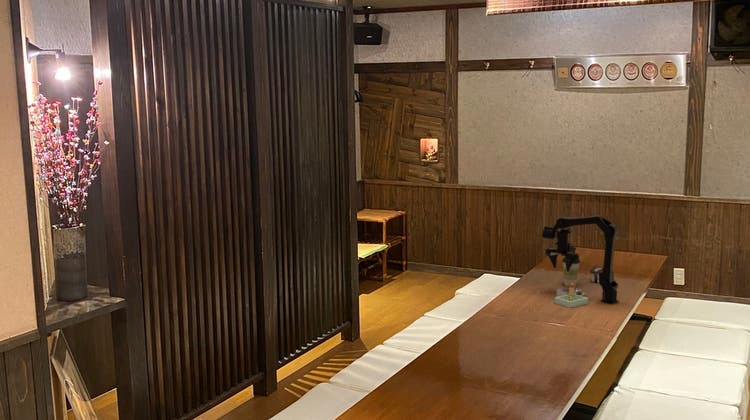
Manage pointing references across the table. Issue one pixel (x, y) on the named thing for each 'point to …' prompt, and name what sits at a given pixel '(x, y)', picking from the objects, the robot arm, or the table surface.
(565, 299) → the tray
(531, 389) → the table surface
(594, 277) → the architectural model
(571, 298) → the lock pin
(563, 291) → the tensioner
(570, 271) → the coffee cup
